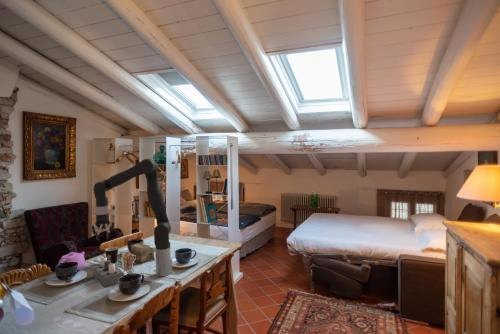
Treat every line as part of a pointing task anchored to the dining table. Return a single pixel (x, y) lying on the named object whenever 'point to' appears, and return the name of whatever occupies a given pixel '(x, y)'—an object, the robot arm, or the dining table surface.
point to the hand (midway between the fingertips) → (103, 239)
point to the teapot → (74, 259)
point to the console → (107, 276)
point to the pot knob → (107, 265)
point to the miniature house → (142, 253)
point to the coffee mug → (111, 254)
